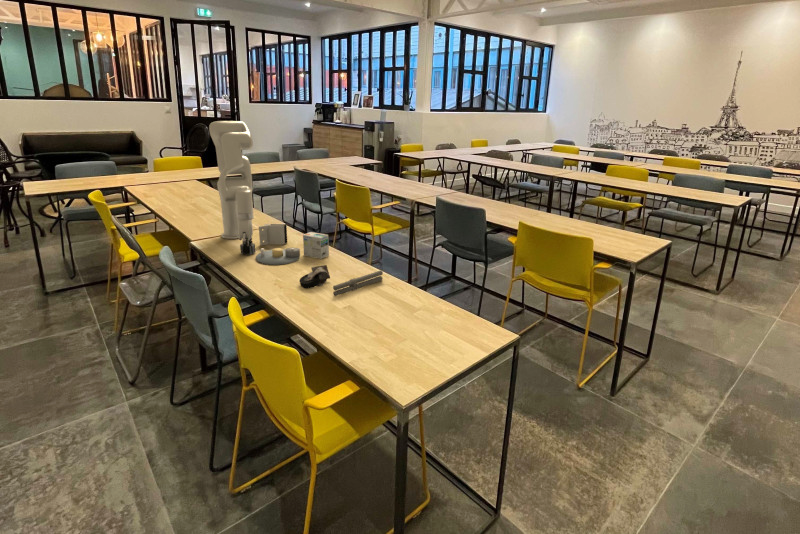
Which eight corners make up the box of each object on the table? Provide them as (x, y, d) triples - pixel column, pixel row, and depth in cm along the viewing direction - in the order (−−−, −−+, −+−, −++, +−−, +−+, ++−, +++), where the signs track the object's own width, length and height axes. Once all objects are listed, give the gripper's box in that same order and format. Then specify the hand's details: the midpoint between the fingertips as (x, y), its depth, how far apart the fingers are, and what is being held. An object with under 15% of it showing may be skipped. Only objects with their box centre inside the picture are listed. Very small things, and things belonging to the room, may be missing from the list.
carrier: (259, 251, 228) (259, 242, 227) (301, 251, 231) (301, 242, 229) (252, 265, 210) (251, 255, 208) (298, 264, 212) (297, 255, 211)
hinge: (260, 245, 236) (258, 226, 233) (259, 242, 241) (258, 224, 238) (287, 244, 240) (286, 225, 237) (287, 241, 245) (286, 223, 242)
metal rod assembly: (378, 279, 200) (378, 269, 198) (383, 281, 198) (383, 270, 196) (331, 295, 182) (331, 284, 180) (336, 298, 180) (335, 286, 178)
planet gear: (242, 250, 228) (241, 242, 226) (256, 250, 229) (255, 242, 227) (239, 255, 221) (238, 247, 220) (254, 254, 222) (253, 247, 221)
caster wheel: (300, 294, 188) (304, 281, 196) (327, 290, 187) (330, 277, 196) (296, 280, 184) (300, 268, 193) (323, 276, 184) (326, 264, 192)
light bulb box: (329, 255, 226) (329, 234, 222) (321, 259, 220) (321, 237, 217) (311, 251, 230) (310, 231, 226) (303, 255, 224) (302, 234, 221)
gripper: (240, 210, 226) (243, 245, 232) (233, 220, 210) (236, 257, 216) (256, 211, 227) (258, 245, 233) (250, 220, 211) (252, 257, 217)
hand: (248, 250), depth 225 cm, fingers closed on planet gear, 6 cm apart
